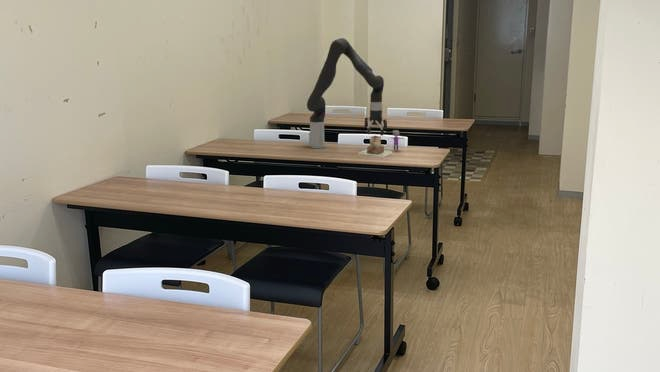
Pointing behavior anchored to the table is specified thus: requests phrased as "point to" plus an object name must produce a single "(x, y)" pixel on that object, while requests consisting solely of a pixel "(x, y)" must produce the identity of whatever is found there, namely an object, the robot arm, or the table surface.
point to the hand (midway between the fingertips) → (375, 134)
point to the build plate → (376, 154)
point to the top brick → (375, 141)
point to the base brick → (375, 150)
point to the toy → (396, 139)
